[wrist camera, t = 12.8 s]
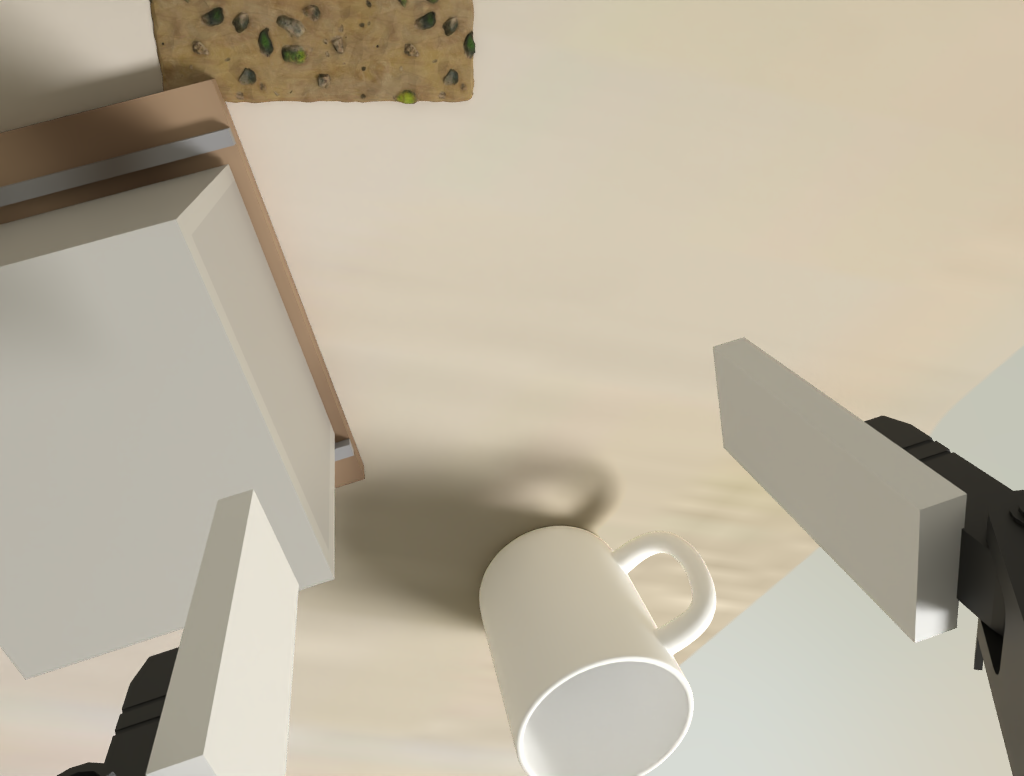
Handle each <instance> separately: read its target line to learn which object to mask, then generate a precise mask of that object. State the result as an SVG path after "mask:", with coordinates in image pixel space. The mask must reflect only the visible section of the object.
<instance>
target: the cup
mask: <svg viewBox="0 0 1024 776" xmlns="http://www.w3.org/2000/svg"><path fill="white" fill-rule="evenodd" d="M657 553H667V554H670V555H672V556H673V557H674V558H675V559H676V560H677V561H678V562H679V563H680V564H681V566H682V567H683V569H684V570H685V572H686V574H687V577H688V579H689V582H690V586H691V590H692V602H691V604H690V606H689V607H688V609H687V610H686V611H685V612H684V613H682V614H681V615H679V616H678V617H676V618H675V619H673V620H672V621H670V622H668V623H666V624H665V625H663V626H661V627H659V628H657V626H656V624H655V622H654V620H653V619H652V617H651V615H650V613H649V611H648V610H647V608H646V606H645V604H644V602H643V601H642V599H641V597H640V595H639V594H638V592H637V590H636V588H635V586H634V585H633V583H632V581H631V579H630V578H629V576H628V572H629V571H631V570H632V569H633V568H634V567H635V566H636V565H638V564H639V563H640V562H642V561H643V560H644V559H646V558H648V557H649V556H652V555H654V554H657ZM479 603H480V611H481V617H482V621H483V625H484V629H485V633H486V637H487V641H488V645H489V649H490V652H491V656H492V660H493V664H494V668H495V672H496V676H497V680H498V683H499V687H500V691H501V695H502V699H503V703H504V707H505V710H506V714H507V718H508V722H509V726H510V730H511V734H512V738H513V741H514V745H515V749H516V753H517V757H518V760H519V762H520V764H521V766H522V768H523V769H524V771H525V772H526V773H527V774H528V775H529V776H643V775H645V774H646V773H648V772H650V771H651V770H653V769H654V768H656V767H657V766H658V765H659V764H661V763H662V762H663V761H664V760H665V759H666V758H667V757H668V756H669V755H670V754H671V753H672V752H673V751H674V750H675V749H676V748H677V746H678V745H679V744H680V742H681V741H682V739H683V738H684V736H685V734H686V732H687V730H688V728H689V726H690V722H691V720H692V715H693V708H694V700H693V694H692V690H691V687H690V685H689V683H688V681H687V679H686V678H685V676H684V674H683V672H682V670H681V669H680V667H679V665H678V663H677V662H676V660H675V658H674V656H673V654H675V653H676V652H678V651H680V650H681V649H683V648H684V647H686V646H687V645H689V644H690V643H692V642H693V641H694V640H696V639H697V638H698V637H699V636H700V635H701V634H702V633H703V632H704V631H705V630H706V629H707V627H708V626H709V624H710V623H711V621H712V619H713V616H714V612H715V608H716V592H715V587H714V583H713V580H712V577H711V575H710V572H709V570H708V568H707V566H706V564H705V562H704V560H703V559H702V557H701V556H700V554H699V553H698V552H697V550H696V549H695V548H694V547H693V546H692V545H691V544H690V543H689V542H688V541H686V540H685V539H683V538H682V537H680V536H678V535H676V534H674V533H670V532H664V531H655V532H649V533H645V534H642V535H640V536H638V537H635V538H633V539H632V540H630V541H628V542H626V543H625V544H623V545H622V546H620V547H619V548H617V549H616V550H615V551H613V550H612V549H611V547H610V546H609V545H608V544H607V543H606V542H605V541H604V540H603V539H601V538H600V537H598V536H597V535H595V534H593V533H591V532H589V531H587V530H584V529H581V528H577V527H571V526H549V527H543V528H539V529H536V530H533V531H530V532H528V533H525V534H523V535H521V536H519V537H518V538H516V539H514V540H513V541H511V542H510V543H509V544H507V545H506V546H505V547H504V548H503V549H502V550H501V551H500V552H499V553H498V554H497V555H496V556H495V557H494V559H493V560H492V561H491V563H490V564H489V566H488V568H487V570H486V572H485V574H484V576H483V579H482V583H481V586H480V593H479Z"/></svg>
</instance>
